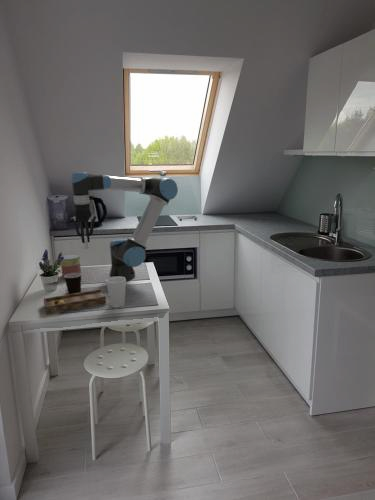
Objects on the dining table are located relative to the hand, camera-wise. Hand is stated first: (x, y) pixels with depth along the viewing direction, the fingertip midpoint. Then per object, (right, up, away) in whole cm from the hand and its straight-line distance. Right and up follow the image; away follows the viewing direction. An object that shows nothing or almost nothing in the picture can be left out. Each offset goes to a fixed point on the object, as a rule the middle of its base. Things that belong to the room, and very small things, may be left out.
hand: (86, 248), depth 201 cm
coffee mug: (-8, -24, +8) cm, 26 cm away
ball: (-9, -27, -12) cm, 31 cm away
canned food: (-18, -17, +36) cm, 44 cm away
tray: (-3, -28, -9) cm, 29 cm away
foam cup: (+18, -28, -11) cm, 35 cm away
